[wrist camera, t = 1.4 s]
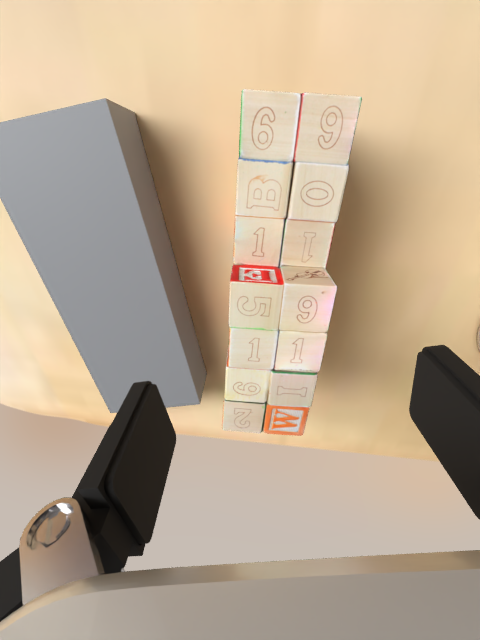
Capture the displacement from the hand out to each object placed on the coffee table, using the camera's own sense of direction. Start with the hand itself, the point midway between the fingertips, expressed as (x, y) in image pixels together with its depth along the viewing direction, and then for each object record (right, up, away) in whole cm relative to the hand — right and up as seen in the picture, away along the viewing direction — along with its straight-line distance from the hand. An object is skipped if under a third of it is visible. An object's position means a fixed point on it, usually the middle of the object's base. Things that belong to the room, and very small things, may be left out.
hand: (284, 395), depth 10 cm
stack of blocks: (+1, +9, +17) cm, 19 cm away
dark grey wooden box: (-13, +7, +18) cm, 23 cm away
